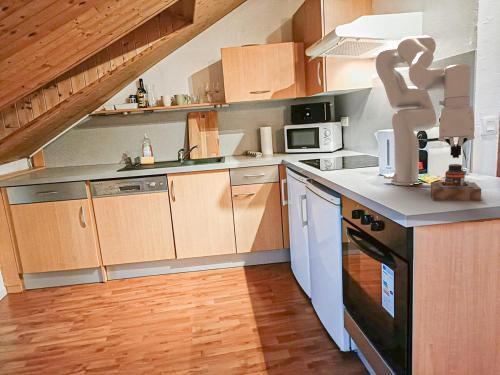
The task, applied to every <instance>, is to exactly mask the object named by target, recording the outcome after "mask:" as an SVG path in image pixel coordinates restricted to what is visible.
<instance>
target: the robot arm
mask: <svg viewBox="0 0 500 375" xmlns="http://www.w3.org/2000/svg"><path fill="white" fill-rule="evenodd" d="M436 47H437V45H436V40H434V38H433V37H431V36H429V35H422V36H421V35H420V36H418V35H417V36H406V37H404V38H402V39H401V40H400V41H398V42H397V45H396V47H394V46H393V47H386V48H383V49H381V50H380V51H378V53H377V54H376V57H375V69H376V73H377V75H378V78H379V79H380V81H381V82H382V84H383V87H384V89H385V93H386V96H387V97H386V98H387V100H388V103H389V105H390V107H391V108H392V109H393V110H395V112H394V113H393V114H392V118H391V126H392V130H393V136H394V137H393V140H394V172H393V173H391V174H389V173H387V174H386V173H385V174H383V179H386V180H390V183H391V184H392V185H395V186H411V185H410V184H415V183H419V182H417V181H418V179H420V176H419V175H420V174H419V172H420V171H419V167H420V163H419V162H420V160H419V159H420V144H419V138H418V137H417V135H416V133H415V132H421V131H430V130H432V129H434V127H435V126H436V124H437V114H436V109H435V108H434V105H433V102H432V99H431V97H430V94H429V92H434V91H443V99H442V100H440V101H438V102H439V103H438V105H439V106H443V108H441V111H440V116H439V126H438V134H439V135H438V137H437V138H438V139H437V140H438V141H440V142H444V143H447V144H448V146H450V156H452V158H453V159H455V158H457V159H459V158H460V156H461V155H462V146H463V145H464V144H465V143H466V142H467V141H472V140H474V139H475V138H476V137H475V130H476V128H475V126H476V125H475V112H474V107H473V106H472V105H470V104H471V77H472V76H471V74H472V73H471V72H472V70H471V69H472V68H471V66H470V64H468V63H458V64H453V65H449V66H446V67H437V68H429V67H430V66H431V65H432V64H433V61H434V53H435V51H436ZM395 68H399V69H400V68H409V69H408V76H409V80H410V82H411V84H413V86H408V85H407V83H406V81H405V78H404V76H403V74H401V73H400V72H399V71H398V70H396V69H395ZM454 138H457V143H456V144H455V139H454Z"/></svg>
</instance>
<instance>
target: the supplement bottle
mask: <svg viewBox="0 0 500 375" xmlns="http://www.w3.org/2000/svg"><path fill="white" fill-rule="evenodd" d="M465 174H466V173H465V171H464V170H463V164H460V163H459V164H458V163H456V164H455V163H453V164H448V170H446V171H445V174H444V175H445V176H444V181H445V186H464V181H465V180H466V179H465V176H466V175H465Z"/></svg>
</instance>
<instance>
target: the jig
mask: <svg viewBox="0 0 500 375" xmlns="http://www.w3.org/2000/svg"><path fill="white" fill-rule="evenodd" d="M430 195H431V198H432V201H451V202H452V201H456V202H457V201H463V202H464V201H469V202H470V201H471V202H473V201H475V202H481V200H482V188H481V187H480V186H479V185H478V184H477V183H476V182H473V181H472V182H471V181H468V180H466V181H465V180H464V186H445V180H444V181H443V180H442V181H441V180H440V181H438V180H437V181H436V182H434V181H433V182H432V181H431V182H430Z"/></svg>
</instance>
